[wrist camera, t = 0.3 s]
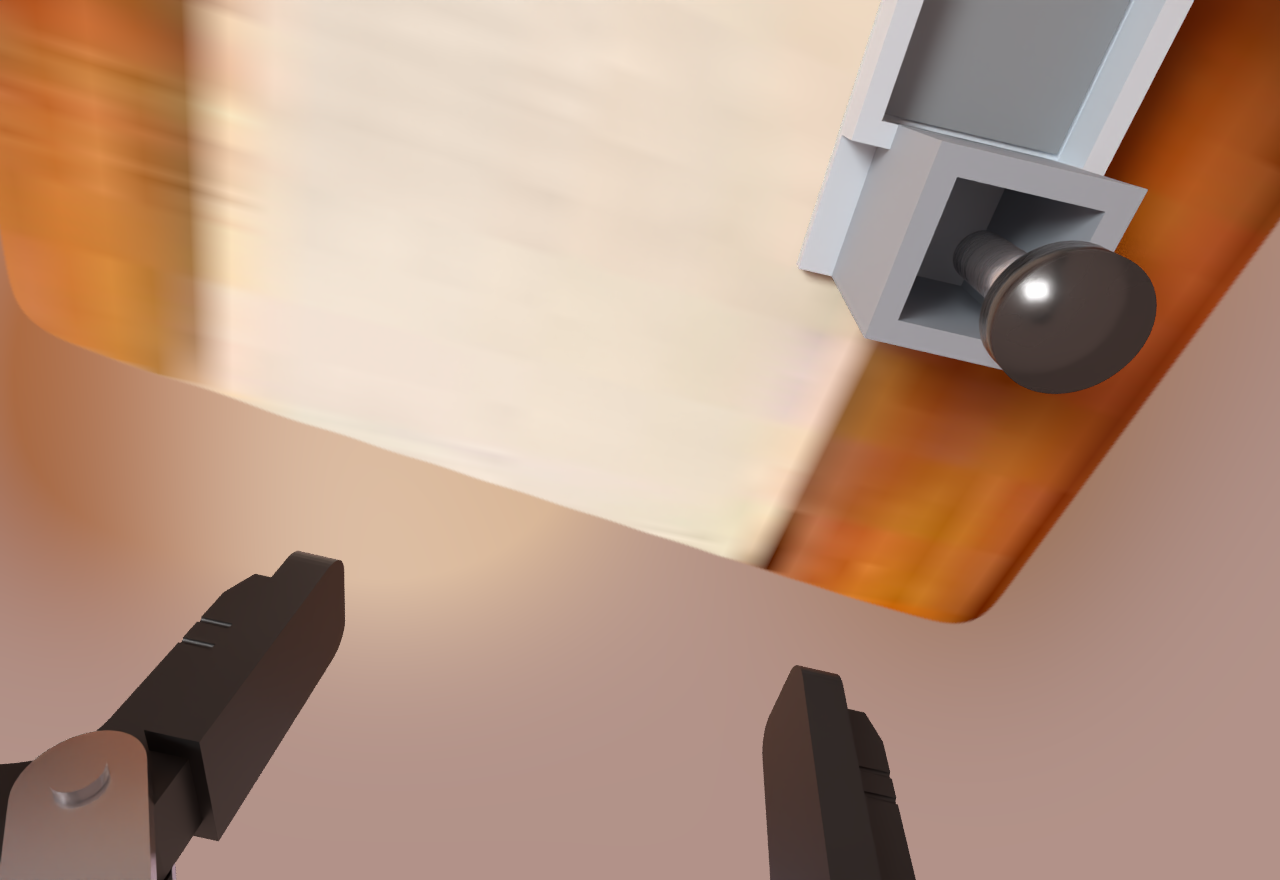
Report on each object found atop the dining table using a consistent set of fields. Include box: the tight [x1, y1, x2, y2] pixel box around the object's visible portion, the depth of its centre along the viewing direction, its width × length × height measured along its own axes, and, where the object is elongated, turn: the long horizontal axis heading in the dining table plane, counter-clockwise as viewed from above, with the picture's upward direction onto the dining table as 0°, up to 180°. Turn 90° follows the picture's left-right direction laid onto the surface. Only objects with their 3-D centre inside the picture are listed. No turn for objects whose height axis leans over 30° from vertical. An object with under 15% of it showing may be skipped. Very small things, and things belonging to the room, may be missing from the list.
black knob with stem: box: [953, 230, 1157, 394], centre depth 24 cm, size 4×4×8 cm
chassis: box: [797, 0, 1194, 370], centre depth 28 cm, size 18×11×10 cm, turn 168°
